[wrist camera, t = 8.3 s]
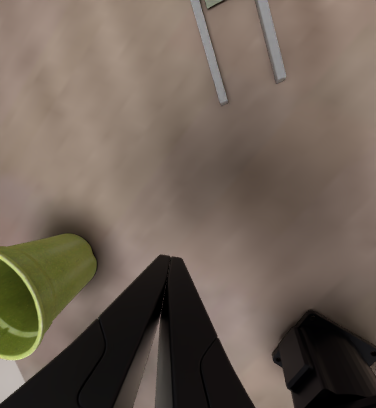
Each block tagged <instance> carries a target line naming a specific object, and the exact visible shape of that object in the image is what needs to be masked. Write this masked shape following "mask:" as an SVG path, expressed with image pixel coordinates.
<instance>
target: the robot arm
mask: <svg viewBox="0 0 376 408" xmlns="http://www.w3.org/2000/svg"><path fill="white" fill-rule="evenodd" d="M170 259H171V260H170ZM169 264H170V265H169ZM168 270H169V271H168ZM167 276H168V277H167ZM166 281H167V282H166ZM165 287H166V288H165ZM163 298H164V299H163ZM162 304H163V305H162ZM161 309H162V310H161ZM160 314H161V317H160ZM311 316H315V317H314V318H310V317H311ZM159 319H160V328H159V345H158V362H157V379H156V397H155V408H255V406H254V404H253V403H252V401H251V399H250V398H249V396H248V394H247V392H246V391H245V389H244V387H243V385H242V384H241V382H240V380H239V378H238V376H237V375H236V373H235V371H234V369H233V367H232V365H231V363H230V361H229V359H228V357H227V355H226V353H225V351H224V349H223V346H222V344H221V342H220V340H219V338H217V333H216V331H215V329H214V327H213V325H212V323H211V320H210V318H209V316H208V314H207V312H206V309H205V307H204V305H203V303H202V301H201V298H200V296H199V294H198V292H197V290H196V287H195V285H194V283H193V281H192V279H191V276H190V274H189V272H188V270H187V268H186V266H185V263H184V261H183V259H182V258H179V257H173V256H172V257H170V256H167V255H159V256H158V257H157V258H156V259H155V260H154V261H153V262H152V263H151V264H150V265H149V266H148V267H147V268H146V269H145V270H144V271H143V272H142V273H141V274H140V275H139V276H138V277H137V278H136V279H135V280H134V281H133V282H132V283H131V284H130V285H129V286H128V287H127V288H126V289H125V290H124V291H123V292H122V293H121V294H120V295H119V296H118V297H117V299H116V300H115V301H114V302H113V303H112V304H111V305H110V306H109V307H108V308H107V309H106V310H105V311H104V312H103V313H102V314H101V315H100V316H99V317H98V319H96V320H95V321H94V322H93V323H92V324H91V325H90V326H89V327H88V328H87V329H86V330H85V331H84V332H83V333H82V334H81V335H80V336H79V337H78V338H77V339H75V340H74V341H73V342H72V343H71V344H70V345H69V346H68V347H67V348H66V349H65V350H63V351H62V352H61V353H60V354H59V355H58V356H56V357H55V358H54V359H53V360H52V361H51V362H50V363H48V364H47V365H46V366H45V367H44V368H42V369H41V370H40V371H39V372H38V373H36V374H35V375H34V376H33V377H32V378H30V379H29V380H28V381H27V382H26V383H24V384H23V385H22V386H21V387H20V388H19V389H17V390H16V391H15V392H14V393H13V394H11V395H10V396H9V397H8V398H7V399H5V400H4V401H3V402H2V403H1V404H0V408H133V405H134V402H135V399H136V395H137V392H138V389H139V386H140V382H141V379H142V376H143V372H144V369H145V366H146V362H147V359H148V356H149V353H150V349H151V346H152V343H153V339H154V336H155V333H156V330H157V326H158V323H159ZM372 351H374V352H372ZM272 358H273V361H274V363H276V364H277V365H279V366H281V367H282V368H283V372H284V377H285V382H286V386H287V389H289V390H290V391H291V394H292V399H293V403H294V408H376V376H375V375H374V373H373V371H372V370H371V368H370V366H371V365H372V364H373V363H374V362H375V361H376V346H374V345H373V344H371V343H369V342H367V341H366V340H364V339H362V338H360V337H359V336H357V335H355V334H353V333H352V332H350V331H348V330H347V329H345V328H343V327H341V326H340V325H338V324H336V323H334V322H333V321H331V320H329V319H327V318H326V317H324V316H322V315H320V314H319V313H317V312H315V311H312V310H310V311H308V312H306V314H305V315H304V316H303V317H302V318H301V320H300V321H299V322H298V323H297V325H296V326H294V327H292V329H291V330H290V331H289V332H288V333H287V335H286V336H285V337H284V338H283V340H282V341H281V342H280V343H279V345H278V348H277V349H276V350H275V351H274V353H273V354H272Z"/></svg>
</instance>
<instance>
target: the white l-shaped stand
mask: <svg viewBox="0 0 376 408" xmlns="http://www.w3.org/2000/svg"><path fill="white" fill-rule="evenodd" d="M190 1H191V4H192V8H193V11H194V15H195V18H196V21H197V25H198V28H199V32H200V35H201V39H202V42H203V46H204V49H205V53H206V56H207V60H208V63H209V67H210V70H211V73H212V77H213V80H214V84H215V87H216V91H217V94H218V98H219V101H220V104H221V106H222V105H225V104H227V103H228V100H227V97H226V93H225V90H224V86H223V83H222V79H221V76H220V72H219V69H218V65H217V62H216V58H215V55H214V51H213V48H212V44H211V40H210V37H209V33H208V30H207V26H206V23H205V19H204V16H203V12H202V9H201V5H200V2H199V0H190ZM255 2H256V6H257V10H258V14H259V18H260V22H261V26H262V30H263V34H264V38H265V42H266V45H267V49H268V53H269V57H270V61H271V65H272V69H273V73H274V77H275V81H276V84H277V83H279V82H282V81H284V80H285V79H286V73H285V69H284V65H283V61H282V57H281V53H280V49H279V45H278V41H277V37H276V33H275V29H274V25H273V21H272V17H271V13H270V9H269V5H268V1H267V0H255Z"/></svg>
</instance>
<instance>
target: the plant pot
mask: <svg viewBox="0 0 376 408" xmlns="http://www.w3.org/2000/svg"><path fill="white" fill-rule="evenodd" d="M96 267H97V262H96V258H95V257H94V256H93V254H92V250H91V246H90V245H89V244H88V243H87V242H86V241H85V240H84V239H83V238H81V237H80V236H78V235H75V234H70V233H67V234H61V235H57V236H53V237H49V238H44V239H40V240H36V241H31V242H27V243H22V244H17V245H13V246H8V247H5V246H0V358H1V359H6V360H19V359H23V358H25V357H27V356H29V355H30V354H32V353H33V352H34V351H35V350H36V349H37V347H38V346H39V345H40V343H41V341H42V339H43V336H44V333H45V332H46V331H47V330H48V329H49V327H50V326H51V324H52V321H53V320H54V319H55V318H56V316H57V315H58V314H59V313H60V312H61V311H62V310H63V309H64V308H65V307H66V305H67V304H68V303H69V302H70V301H71V300H72V299H73V298H74V297H75V296H76V295H77V294H78V293H79V292H80V291H81V290H82V289H83V287H84V286H85V285H86V284H87V283H88V282H89V281H90V280H91V279H92V278H93V276H94V274H95V272H96Z"/></svg>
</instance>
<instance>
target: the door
mask: <svg viewBox="0 0 376 408" xmlns="http://www.w3.org/2000/svg"><path fill="white" fill-rule="evenodd" d="M221 1H222V0H205V3H206V7H207V9H208V8H209V7H211V6H213V5H215V4H217V3H219V2H221Z"/></svg>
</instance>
